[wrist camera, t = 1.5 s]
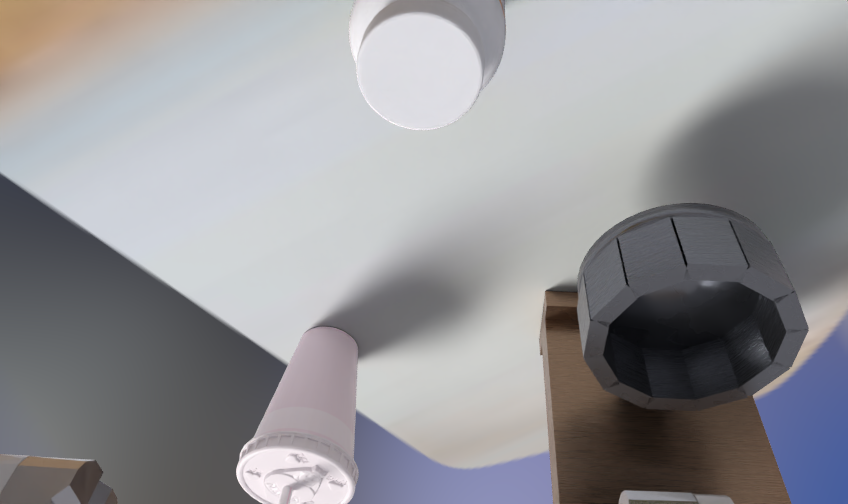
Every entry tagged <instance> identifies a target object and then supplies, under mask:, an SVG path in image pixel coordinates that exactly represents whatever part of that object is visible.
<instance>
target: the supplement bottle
mask: <svg viewBox="0 0 848 504" xmlns="http://www.w3.org/2000/svg"><path fill="white" fill-rule="evenodd" d="M505 23H506V22H505V0H355V1H354V4H353V8H352V11H351V15H350V22H349V41H350V47H351V51H352V54H353V57H354V60H355V62H356V72H357V79H358V83H359V86H360V89H361V92H362V94H363V96H364V98H365V99H366V101H367V102H368V104H369V105H370V106H371V107H372V108H373V110H375V111H376V112H377V113H378V114H379V115H380V116H381V117H383V118H384V119H386V120H387V121H389V122H391V123H393V124H395V125H398V126H401V127H404V128H408V129H413V130H431V129H437V128H441V127H444V126H446V125H449V124H451V123H453V122H455V121H456V120H458V119H459V118H461V117H462V116H463V115H464V114H465V113H467V112H468V110H469V109H470V108H471V107H472V106H473V104H474V103H475V101H476V99H477V98H478V96H479V93H480V91H481V90H482V89H483V88H484V87H485V86H486V85H487V84H488V83H489V81H490V80H491V79H492V77H493V76H494V74H495V72H496V70H497V68H498V66H499V64H500V61H501V58H502V55H503V51H504V45H505V36H506V24H505Z"/></svg>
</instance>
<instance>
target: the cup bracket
mask: <svg viewBox="0 0 848 504" xmlns="http://www.w3.org/2000/svg"><path fill="white" fill-rule="evenodd" d="M577 289H578V292H557V291H545V299H544V307H543V315H542V323H541V331H540V339H539V343H540V355H543V367H544V381H545V395H546V409H547V423H548V437H549V451H550V465H551V479H552V493H553V504H619V499H620V495H621V493H622V492H623V491H624V490H631V491H656V492H682V493H691V494H710V495H726V496H728V497H730V498H731V500H732V501H733V502H734V504H791V501H790V498H789V496H788V493H787V490H786V487H785V485H784V482H783V479H782V476H781V474H780V471H779V468H778V465H777V462H776V459H775V457H774V454H773V451H772V448H771V446H770V443H769V440H768V437H767V435H766V432H765V429H764V426H763V423H762V421H761V418H760V415H759V412H758V409H757V407H756V404H755V401H754V398H753V396H752V395H753V394H755V393H756V392H757V391H759V390H760V389H762V388H763V387H765V386H766V385H767V384H769V383H770V382H772V381H773V380H774V379H776V378H777V377H779V376H780V375H782V374H783V373H784V372H786V371H787V370H789V369H790V368H789V367H792V365H793V362H794V360H795V358H796V356H797V354H798V352H799V350H800V347H801V345H802V343H803V341H804V339H805V337H806V335H807V332H808V325H807V322H806V320H805V317H804V314H803V311H802V309H801V306H800V303H799V300H798V298H797V295H796V292H795V290H794V288H793V286H792V284H791V282H790V280H789V278H788V276H787V274H786V272H785V270H784V268H783V266H782V264H781V262H780V260H779V258H778V256H777V253H776V251H775V249H774V247H773V245H772V243H771V242H770V241H768V239H767V237H766V236H765V235H764V233H763V232H762V231H761V229H759V228H758V227H757V226H756V225H755V224H754V223H753V222H752V221H750V220H749V219H747V218H746V217H744V216H742V215H740V214H738V213H736V212H734V211H732V210H729V209H726V208H723V207H719V206H714V205H709V204H698V203H681V204H672V205H665V206H661V207H656V208H652V209H649V210H646V211H643V212H640V213H638V214H636V215H633V216H631V217H629V218H627V219H625V220H623V221H622V222H620V223H618V224H616V225H615V226H614V227H612V228H611V229H609V230H608V231H607V232H605V233H604V234H603V235H602V236H601V237H600V238H599V239H598V240H597V241H596V242H595V243H594V245H593V246H592V247H591V248H590V249H589V251H588V253H587V254H586V256H585V258H584V260H583V262H582V264H581V266H580V270H579V274H578V281H577Z"/></svg>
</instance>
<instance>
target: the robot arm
mask: <svg viewBox="0 0 848 504" xmlns="http://www.w3.org/2000/svg"><path fill="white" fill-rule="evenodd" d="M102 474H103V471H102V469H101V468H100V466H99V465H98V463H97V462H96V460H83V459H66V458H49V457H48V458H47V457H36V456H26V455H5V454H0V504H118V502H117V497H116V495H115V493H114V491H113V489H112V488H111V487H109V486H107V485H106V484H104V483H103V482H101V481H100V478H101V476H102ZM619 504H734V502H733V501H732V500H731V498H730V497H728V496H726V495H710V494H691V493H682V492H656V491H631V490H624V491H623V492H622V493H621V495H620V499H619Z"/></svg>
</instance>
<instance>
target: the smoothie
mask: <svg viewBox="0 0 848 504" xmlns="http://www.w3.org/2000/svg"><path fill="white" fill-rule="evenodd" d="M357 364H358V346H357V344H356V342H355V340H354V339H353V338H352V337H351V336H350V335H349V334H347V333H346V332H344V331H342V330H340V329H337V328H333V327H316V328H313V329H310V330H308V331H307V332H305V333H304V334H303V336H302V337H301V339H300V342H299V344H298V346H297V348H296V350H295V352H294V354H293V356H292V358H291V360H290V362H289V365H288V367H287V369H286V371H285V373H284V375H283V377H282V379H281V381H280V383H279V386H278V388H277V390H276V392H275V394H274V396H273V398H272V400H271V402H270V405H269V407H268V409H267V411H266V413H265V415H264V417H263V419H262V421H261V423H260V425H259V427H258V430H257V432H256V434H255V436H254V438H253V439H251V440H250V441H249V442H248V443H246V444H245V445H244V447H243V449H242V451H241V453H240V460H239V463H238V466H237V470H236V474H237V479H238V481H239V483H240V485H241V486H242V487H243V489H244V490H245V491H246V492H247V493H248V494H249V495H250V496H252V497H253V498H254V499H256V500H258V501H259V502H261V503H263V504H347V503H348V502H349V501H350V500H351V499H352V497H353V495H354V492H355V485H356V483H357V480H358V475H359V473H358V468H357V465H356V463H355V462H354V460H353V458H354V435H355V411H356V387H357Z"/></svg>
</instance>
